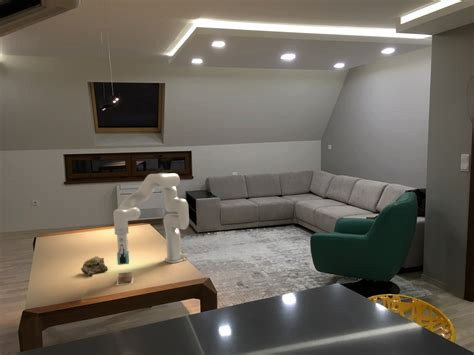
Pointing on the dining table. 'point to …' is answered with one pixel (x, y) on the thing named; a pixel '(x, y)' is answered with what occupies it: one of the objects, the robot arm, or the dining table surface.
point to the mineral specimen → (94, 266)
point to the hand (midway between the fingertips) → (123, 261)
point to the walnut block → (124, 278)
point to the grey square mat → (126, 283)
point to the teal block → (126, 257)
